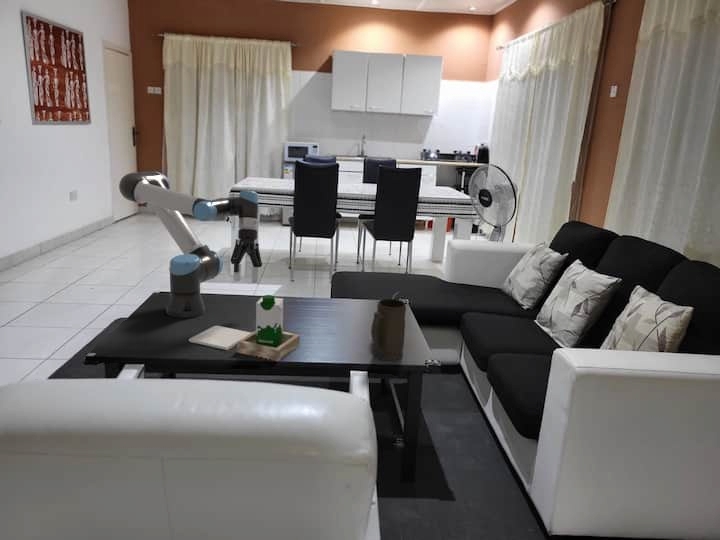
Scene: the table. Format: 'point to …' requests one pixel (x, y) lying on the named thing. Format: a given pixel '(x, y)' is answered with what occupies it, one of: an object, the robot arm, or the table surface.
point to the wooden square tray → (276, 354)
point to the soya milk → (269, 321)
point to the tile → (219, 337)
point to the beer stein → (389, 329)
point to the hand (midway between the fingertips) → (246, 282)
